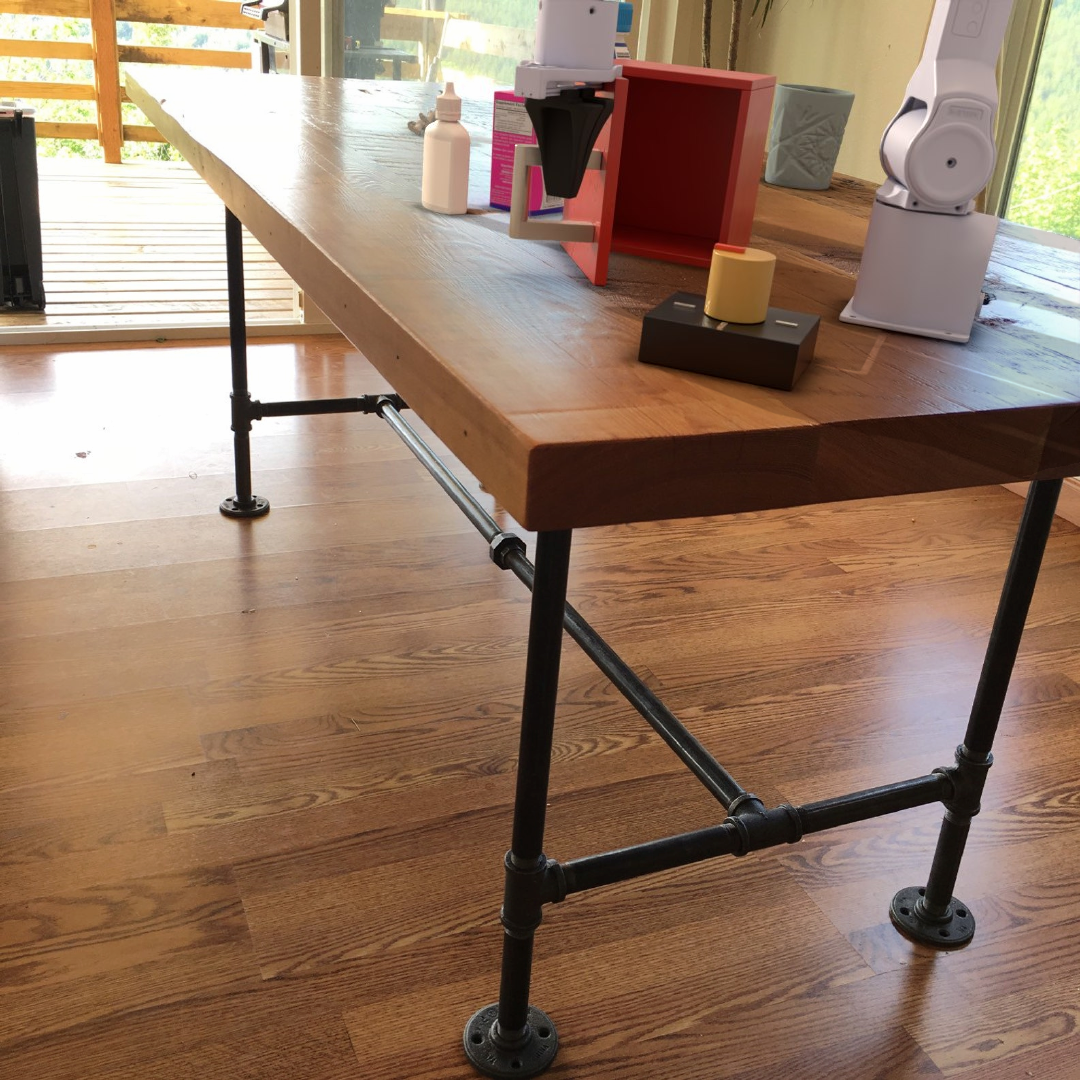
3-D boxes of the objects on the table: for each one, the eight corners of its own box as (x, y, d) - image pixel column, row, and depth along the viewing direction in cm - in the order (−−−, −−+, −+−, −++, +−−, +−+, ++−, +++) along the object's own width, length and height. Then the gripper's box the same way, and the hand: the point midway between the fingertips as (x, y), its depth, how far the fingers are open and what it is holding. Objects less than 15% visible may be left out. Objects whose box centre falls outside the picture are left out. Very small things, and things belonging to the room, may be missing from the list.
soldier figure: (393, 139, 163) (412, 104, 172) (417, 163, 165) (435, 128, 174) (428, 105, 159) (446, 71, 167) (453, 130, 161) (469, 96, 169)
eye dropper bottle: (422, 214, 110) (427, 83, 104) (421, 203, 115) (425, 77, 109) (467, 217, 110) (474, 86, 105) (463, 206, 115) (470, 81, 110)
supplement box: (521, 202, 120) (530, 88, 115) (565, 212, 117) (575, 95, 112) (485, 207, 116) (493, 88, 111) (529, 217, 113) (539, 96, 108)
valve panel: (812, 359, 76) (822, 313, 75) (790, 392, 69) (799, 342, 68) (672, 332, 79) (678, 287, 78) (637, 361, 72) (643, 313, 71)
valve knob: (771, 313, 74) (782, 248, 72) (758, 327, 71) (770, 259, 69) (712, 303, 75) (722, 238, 73) (697, 316, 72) (707, 248, 70)
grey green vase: (761, 174, 155) (777, 81, 150) (835, 183, 154) (853, 89, 148) (759, 184, 146) (775, 86, 141) (838, 194, 145) (857, 95, 140)
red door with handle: (510, 281, 88) (526, 71, 81) (486, 241, 101) (498, 56, 94) (606, 285, 89) (629, 79, 82) (570, 245, 102) (587, 63, 95)
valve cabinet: (722, 271, 98) (752, 80, 91) (568, 245, 103) (585, 61, 96) (747, 252, 107) (777, 76, 100) (603, 228, 111) (622, 58, 104)
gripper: (569, -4, 87) (554, 178, 93) (480, -11, 75) (468, 199, 81) (655, 4, 84) (633, 191, 90) (576, -2, 72) (557, 214, 78)
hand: (561, 196), depth 85 cm, fingers closed
